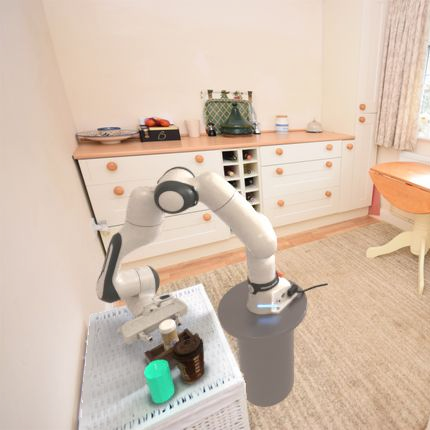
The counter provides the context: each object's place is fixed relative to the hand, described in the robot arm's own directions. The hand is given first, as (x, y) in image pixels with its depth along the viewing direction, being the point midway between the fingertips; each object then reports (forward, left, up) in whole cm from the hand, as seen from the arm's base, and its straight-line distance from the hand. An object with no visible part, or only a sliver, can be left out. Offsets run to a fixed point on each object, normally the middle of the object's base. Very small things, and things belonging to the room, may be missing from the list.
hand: (165, 332), depth 96 cm
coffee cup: (-1, +15, -8) cm, 17 cm away
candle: (+8, +14, -8) cm, 18 cm away
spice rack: (0, +4, -7) cm, 8 cm away
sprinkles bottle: (0, +4, -8) cm, 8 cm away
